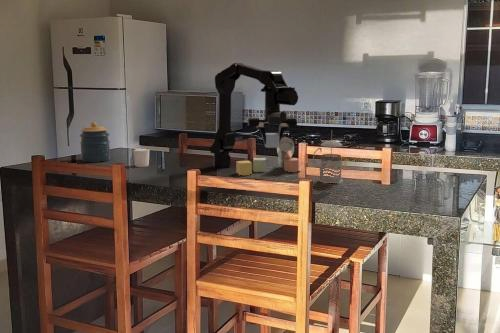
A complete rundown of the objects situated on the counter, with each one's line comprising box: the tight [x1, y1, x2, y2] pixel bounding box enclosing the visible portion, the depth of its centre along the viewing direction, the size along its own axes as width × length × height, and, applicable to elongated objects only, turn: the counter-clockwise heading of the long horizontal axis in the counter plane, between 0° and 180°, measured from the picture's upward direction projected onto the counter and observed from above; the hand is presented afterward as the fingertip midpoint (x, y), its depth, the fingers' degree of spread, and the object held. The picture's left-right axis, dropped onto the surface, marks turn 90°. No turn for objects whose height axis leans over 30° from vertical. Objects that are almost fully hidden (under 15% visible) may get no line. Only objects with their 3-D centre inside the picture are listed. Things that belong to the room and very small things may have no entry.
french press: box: [312, 114, 344, 184], centre depth 207 cm, size 10×12×25 cm
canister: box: [79, 121, 111, 163], centre depth 253 cm, size 13×13×18 cm
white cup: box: [132, 148, 150, 168], centre depth 241 cm, size 7×7×7 cm
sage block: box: [252, 157, 267, 173], centre depth 229 cm, size 5×5×5 cm
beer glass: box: [276, 136, 295, 168], centre depth 231 cm, size 7×7×15 cm
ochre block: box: [235, 160, 253, 176], centre depth 222 cm, size 5×5×5 cm
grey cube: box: [264, 132, 279, 149], centre depth 217 cm, size 5×5×5 cm
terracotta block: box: [283, 157, 299, 173], centre depth 228 cm, size 5×5×5 cm
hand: (271, 143), depth 218 cm, fingers closed on grey cube, 5 cm apart
